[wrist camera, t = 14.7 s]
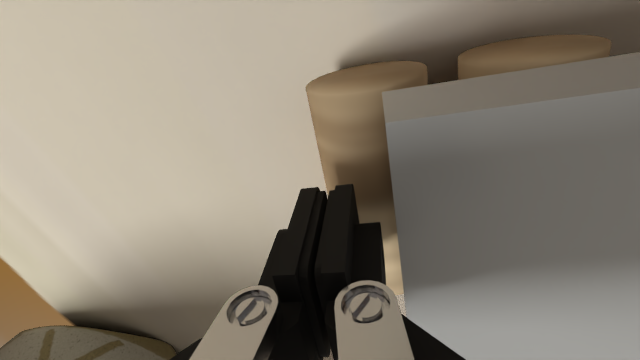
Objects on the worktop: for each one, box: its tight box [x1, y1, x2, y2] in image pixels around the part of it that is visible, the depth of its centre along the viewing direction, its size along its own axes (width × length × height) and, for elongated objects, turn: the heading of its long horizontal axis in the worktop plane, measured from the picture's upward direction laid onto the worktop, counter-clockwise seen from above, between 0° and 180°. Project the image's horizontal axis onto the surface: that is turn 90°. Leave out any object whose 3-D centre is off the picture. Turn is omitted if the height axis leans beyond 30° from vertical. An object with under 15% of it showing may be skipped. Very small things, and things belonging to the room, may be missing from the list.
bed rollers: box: [306, 35, 611, 295], centre depth 12 cm, size 9×21×4 cm, turn 101°
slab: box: [382, 52, 640, 360], centre depth 9 cm, size 8×10×2 cm
